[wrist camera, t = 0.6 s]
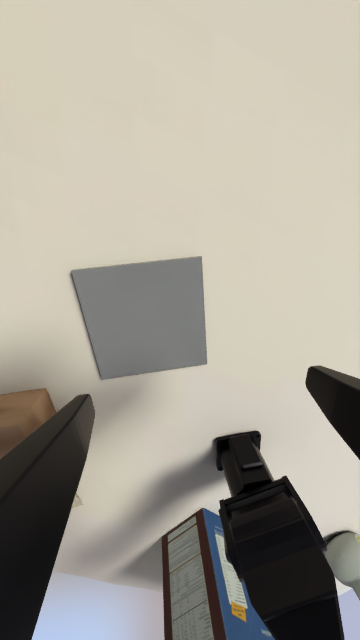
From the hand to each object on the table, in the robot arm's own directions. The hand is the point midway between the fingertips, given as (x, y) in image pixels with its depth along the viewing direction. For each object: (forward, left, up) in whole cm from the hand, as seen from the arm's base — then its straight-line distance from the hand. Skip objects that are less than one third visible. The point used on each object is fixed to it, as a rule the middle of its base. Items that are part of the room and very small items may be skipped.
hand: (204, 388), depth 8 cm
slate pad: (-2, +3, -14) cm, 14 cm away
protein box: (-46, -2, -14) cm, 48 cm away
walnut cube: (-11, +18, -14) cm, 25 cm away
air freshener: (-59, -31, -14) cm, 68 cm away
